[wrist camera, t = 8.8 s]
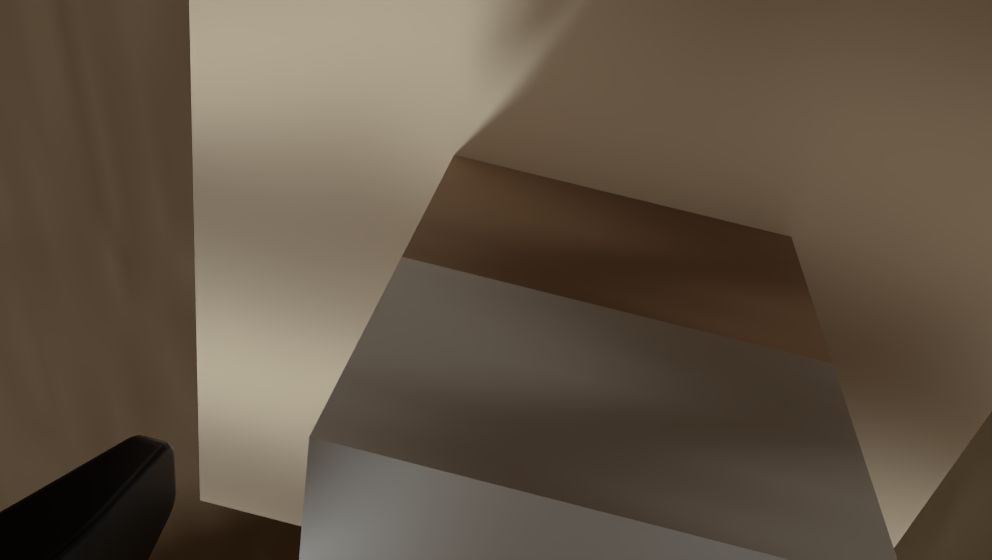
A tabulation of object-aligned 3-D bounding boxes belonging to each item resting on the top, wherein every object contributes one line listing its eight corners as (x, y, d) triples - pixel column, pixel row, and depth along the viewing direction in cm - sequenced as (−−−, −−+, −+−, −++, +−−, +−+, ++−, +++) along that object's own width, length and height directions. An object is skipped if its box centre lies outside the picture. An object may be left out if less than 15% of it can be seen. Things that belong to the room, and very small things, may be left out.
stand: (795, 558, 18) (814, 659, 16) (249, 420, 19) (200, 499, 17) (1152, -22, 11) (1270, 21, 9) (267, -226, 12) (184, -228, 10)
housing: (790, 236, 11) (906, 590, 6) (682, 476, 14) (703, 856, 9) (454, 154, 12) (309, 436, 7) (410, 406, 14) (283, 743, 9)
